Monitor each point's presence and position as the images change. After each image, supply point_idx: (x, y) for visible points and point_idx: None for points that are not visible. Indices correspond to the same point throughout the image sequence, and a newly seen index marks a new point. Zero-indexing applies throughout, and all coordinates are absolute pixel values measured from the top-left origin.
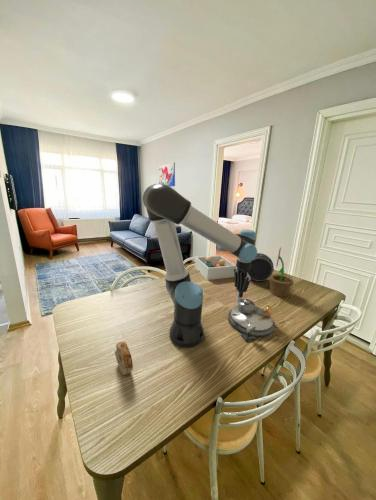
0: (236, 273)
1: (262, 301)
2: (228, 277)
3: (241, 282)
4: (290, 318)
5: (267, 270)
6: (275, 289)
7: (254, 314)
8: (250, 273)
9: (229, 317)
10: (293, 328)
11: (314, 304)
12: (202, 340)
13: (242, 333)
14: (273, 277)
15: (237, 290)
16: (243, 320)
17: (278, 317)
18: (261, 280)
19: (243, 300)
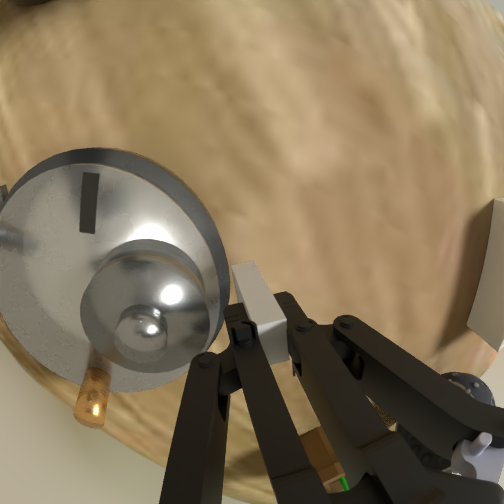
0: (456, 431)
1: (285, 392)
2: (475, 299)
3: (263, 444)
4: (153, 430)
5: (415, 445)
6: (321, 449)
7: None
8: None
9: (105, 152)
10: None
11: (235, 482)
12: (16, 4)
13: (1, 195)
14: None
15: (278, 319)
16: (36, 231)
17: (155, 405)
18: None
19: (188, 317)
